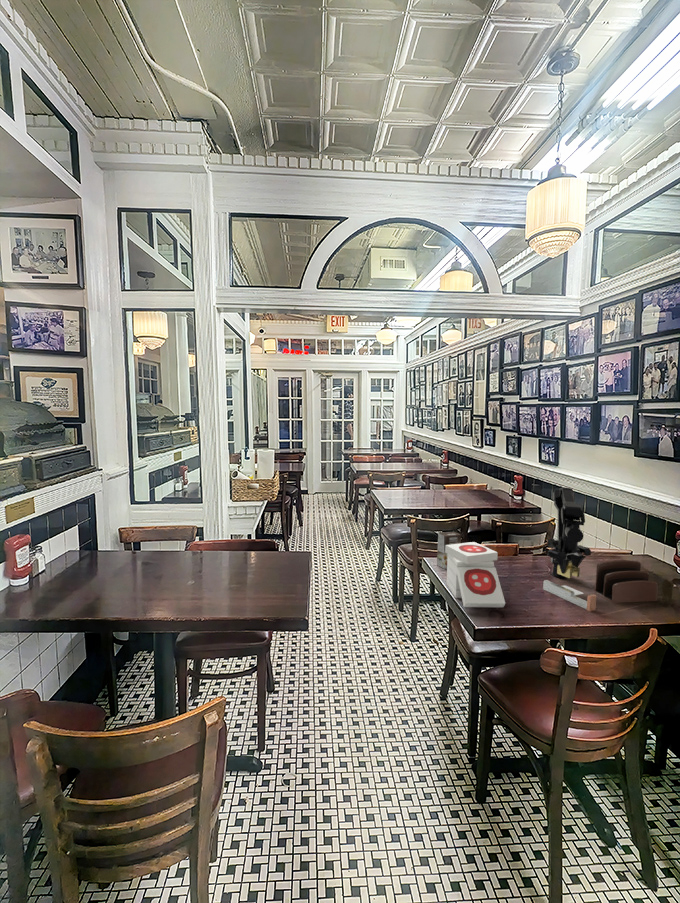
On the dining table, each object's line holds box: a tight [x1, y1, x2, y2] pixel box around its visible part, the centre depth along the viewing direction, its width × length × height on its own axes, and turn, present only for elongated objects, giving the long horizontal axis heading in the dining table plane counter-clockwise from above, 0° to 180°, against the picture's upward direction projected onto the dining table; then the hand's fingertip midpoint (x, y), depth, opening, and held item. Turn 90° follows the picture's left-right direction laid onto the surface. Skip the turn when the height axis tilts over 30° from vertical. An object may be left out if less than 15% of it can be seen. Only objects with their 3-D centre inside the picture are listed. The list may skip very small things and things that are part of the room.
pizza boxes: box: [445, 541, 506, 608], centre depth 173 cm, size 19×30×18 cm, turn 0°
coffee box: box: [436, 531, 462, 570], centre depth 207 cm, size 9×6×16 cm
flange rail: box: [542, 579, 597, 612], centre depth 170 cm, size 11×22×6 cm, turn 23°
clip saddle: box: [557, 561, 581, 579], centre depth 179 cm, size 6×6×6 cm
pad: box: [561, 585, 585, 596], centre depth 180 cm, size 9×9×1 cm
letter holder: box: [594, 559, 659, 604], centre depth 174 cm, size 10×20×14 cm, turn 97°
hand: (568, 572), depth 179 cm, fingers closed on clip saddle, 6 cm apart
